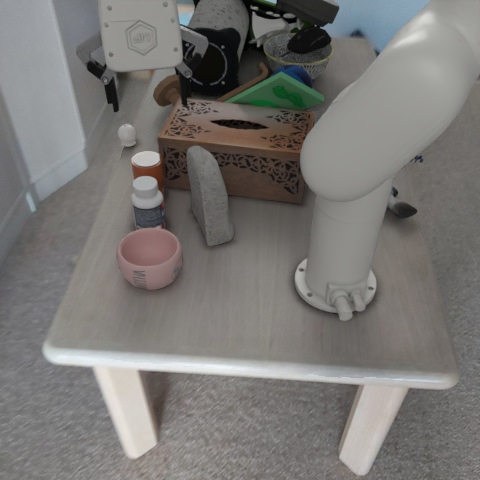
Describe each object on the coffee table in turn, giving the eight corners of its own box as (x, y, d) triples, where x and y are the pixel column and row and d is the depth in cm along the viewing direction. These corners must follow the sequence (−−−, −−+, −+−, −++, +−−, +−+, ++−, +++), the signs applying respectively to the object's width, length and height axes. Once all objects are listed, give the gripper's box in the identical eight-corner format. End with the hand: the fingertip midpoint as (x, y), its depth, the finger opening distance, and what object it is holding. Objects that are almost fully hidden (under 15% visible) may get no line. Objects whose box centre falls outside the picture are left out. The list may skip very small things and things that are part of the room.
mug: (177, 301, 84) (174, 272, 80) (113, 294, 85) (106, 265, 80) (192, 249, 92) (190, 220, 88) (133, 243, 93) (128, 214, 88)
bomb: (276, 125, 117) (264, 120, 131) (324, 104, 116) (307, 101, 130) (259, 78, 113) (248, 78, 127) (308, 56, 112) (292, 58, 126)
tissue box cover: (309, 160, 110) (315, 112, 102) (301, 203, 100) (307, 154, 93) (182, 145, 113) (179, 97, 105) (162, 186, 103) (157, 137, 96)
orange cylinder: (167, 203, 100) (163, 166, 95) (136, 205, 100) (131, 168, 94) (165, 185, 104) (161, 149, 98) (135, 188, 103) (130, 151, 97)
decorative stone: (184, 211, 99) (178, 133, 88) (216, 204, 100) (214, 127, 89) (203, 249, 92) (200, 171, 81) (237, 241, 94) (238, 163, 82)
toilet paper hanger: (274, 63, 120) (268, 86, 127) (249, 32, 121) (244, 57, 128) (178, 117, 113) (177, 138, 120) (152, 84, 114) (152, 106, 121)
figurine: (296, -3, 124) (305, 10, 135) (232, 14, 129) (246, 26, 140) (300, 34, 126) (309, 45, 136) (237, 50, 130) (251, 59, 141)
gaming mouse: (271, 52, 125) (272, 33, 122) (316, 34, 132) (318, 16, 129) (291, 62, 122) (293, 43, 119) (336, 43, 129) (338, 24, 126)
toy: (250, 135, 117) (210, 117, 111) (252, 121, 117) (213, 102, 112) (322, 106, 99) (279, 82, 93) (325, 89, 99) (282, 64, 94)
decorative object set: (218, 141, 114) (218, 120, 111) (119, 147, 112) (116, 126, 108) (215, 131, 117) (215, 110, 114) (118, 137, 115) (115, 115, 112)
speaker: (252, 49, 144) (254, -16, 133) (239, 102, 125) (240, 32, 114) (195, 45, 145) (192, -20, 134) (172, 97, 126) (167, 27, 115)
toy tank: (302, 25, 131) (326, 13, 136) (223, -2, 142) (248, -12, 147) (298, 65, 138) (321, 53, 143) (223, 37, 149) (247, 26, 154)
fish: (431, 196, 97) (395, 215, 92) (423, 215, 100) (388, 234, 95) (334, 137, 108) (297, 151, 103) (329, 156, 111) (294, 170, 106)
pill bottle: (170, 232, 95) (165, 188, 88) (140, 239, 93) (133, 195, 87) (161, 214, 98) (156, 170, 91) (132, 221, 97) (124, 177, 90)
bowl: (321, 100, 126) (325, 67, 120) (253, 89, 129) (254, 56, 123) (335, 70, 136) (339, 38, 131) (272, 61, 139) (274, 29, 134)
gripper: (57, -18, 63) (88, 123, 76) (208, -27, 65) (214, 112, 78) (60, -38, 68) (89, 97, 81) (200, -46, 70) (207, 87, 83)
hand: (150, 104), depth 80 cm, fingers open, 9 cm apart
